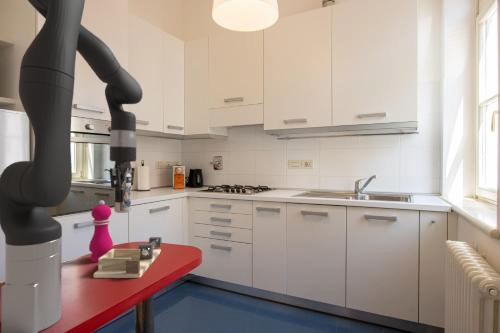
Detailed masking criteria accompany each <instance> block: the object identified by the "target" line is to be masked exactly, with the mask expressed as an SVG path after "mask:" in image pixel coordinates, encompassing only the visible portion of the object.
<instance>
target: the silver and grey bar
mask: <svg viewBox="0 0 500 333" xmlns="http://www.w3.org/2000/svg"><path fill="white" fill-rule="evenodd" d="M148 244H153V249H155V248H161V247H162V236H152V237H151V236H150V237H149V238H148ZM148 253H149V249H144V250H143V251H142V252H141V255H142V256H143V257H145V256H147V255H148Z"/></svg>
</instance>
